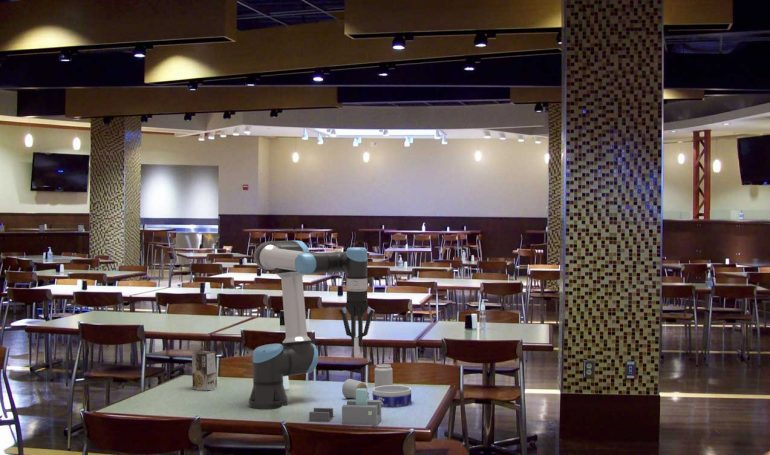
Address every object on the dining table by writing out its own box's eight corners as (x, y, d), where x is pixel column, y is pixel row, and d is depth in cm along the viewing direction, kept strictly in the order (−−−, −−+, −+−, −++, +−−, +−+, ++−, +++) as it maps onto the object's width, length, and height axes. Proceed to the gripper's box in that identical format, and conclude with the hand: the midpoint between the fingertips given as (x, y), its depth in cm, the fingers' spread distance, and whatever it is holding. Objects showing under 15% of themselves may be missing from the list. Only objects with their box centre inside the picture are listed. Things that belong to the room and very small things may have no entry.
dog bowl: (366, 406, 329) (366, 390, 329) (381, 398, 343) (380, 383, 343) (403, 409, 324) (403, 393, 324) (416, 401, 338) (416, 385, 338)
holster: (307, 424, 300) (307, 412, 300) (313, 418, 309) (313, 407, 309) (329, 424, 299) (329, 413, 299) (334, 418, 308) (334, 407, 308)
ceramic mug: (357, 401, 337) (357, 382, 338) (341, 399, 342) (341, 380, 343) (373, 397, 346) (373, 378, 346) (358, 395, 351) (358, 376, 351)
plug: (356, 424, 299) (355, 390, 299) (357, 421, 303) (357, 388, 303) (366, 424, 299) (365, 390, 299) (367, 422, 302) (367, 388, 302)
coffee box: (217, 389, 367) (217, 351, 367) (207, 391, 362) (206, 353, 362) (202, 387, 372) (202, 350, 372) (191, 389, 366) (191, 352, 366)
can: (372, 394, 350) (371, 365, 350) (378, 391, 357) (378, 363, 357) (388, 396, 347) (388, 366, 347) (395, 392, 354) (395, 364, 354)
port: (341, 426, 295) (341, 406, 295) (348, 418, 308) (348, 399, 307) (375, 427, 293) (375, 407, 293) (381, 419, 306) (381, 400, 306)
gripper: (337, 290, 303) (337, 356, 303) (372, 291, 301) (372, 357, 301) (341, 288, 310) (341, 353, 311) (376, 289, 308) (376, 354, 308)
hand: (356, 355), depth 306 cm, fingers closed
